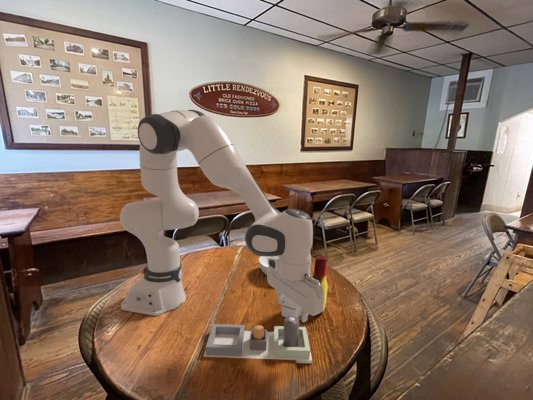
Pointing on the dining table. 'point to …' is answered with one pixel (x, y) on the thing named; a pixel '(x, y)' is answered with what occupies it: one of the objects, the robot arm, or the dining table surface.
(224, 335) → the grey compartment tray
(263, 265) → the serving bowl
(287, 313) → the syrup box
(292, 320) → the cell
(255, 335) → the brown egg
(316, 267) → the bottle
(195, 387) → the dining table surface
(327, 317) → the dining table surface
